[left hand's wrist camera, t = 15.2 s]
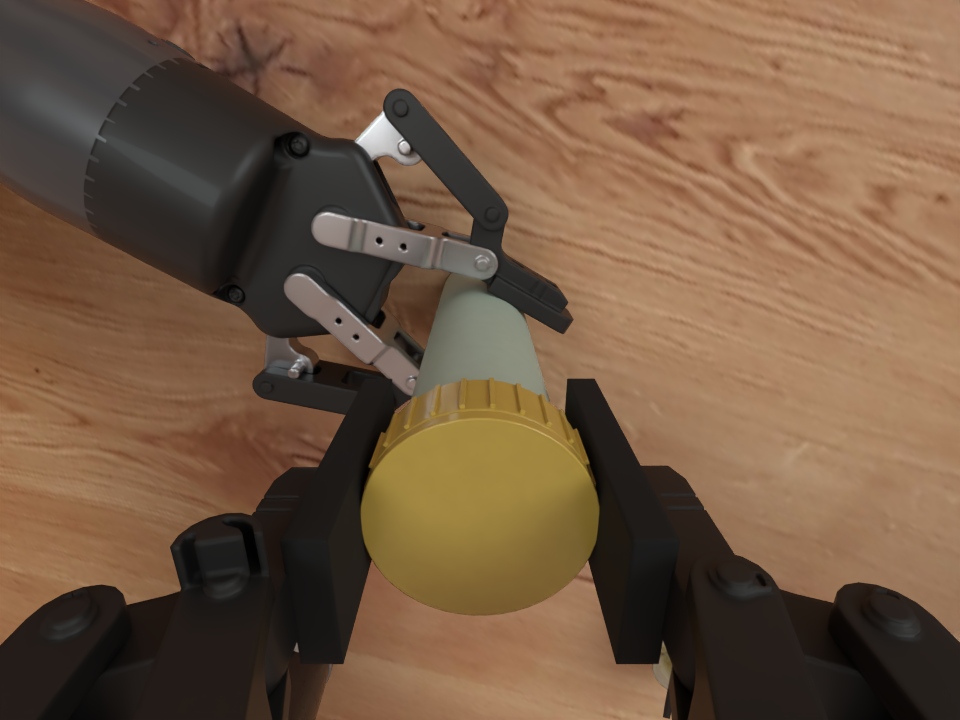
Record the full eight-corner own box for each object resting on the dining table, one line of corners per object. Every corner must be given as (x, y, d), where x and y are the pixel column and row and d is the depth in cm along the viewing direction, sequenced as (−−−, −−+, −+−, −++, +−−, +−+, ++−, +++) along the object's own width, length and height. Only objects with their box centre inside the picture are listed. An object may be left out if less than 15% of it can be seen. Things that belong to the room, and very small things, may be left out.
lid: (427, 338, 11) (416, 372, 9) (627, 430, 12) (653, 479, 10) (342, 511, 13) (319, 569, 11) (523, 583, 13) (530, 647, 12)
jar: (531, 310, 28) (609, 534, 11) (467, 346, 29) (449, 607, 12) (493, 245, 27) (515, 386, 10) (427, 285, 28) (344, 479, 11)
